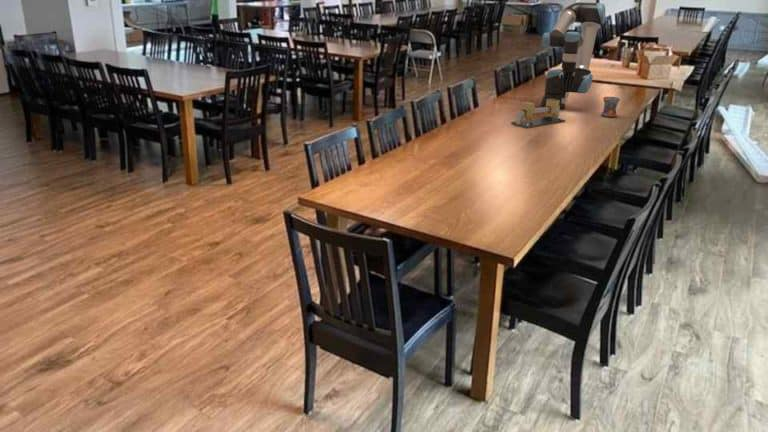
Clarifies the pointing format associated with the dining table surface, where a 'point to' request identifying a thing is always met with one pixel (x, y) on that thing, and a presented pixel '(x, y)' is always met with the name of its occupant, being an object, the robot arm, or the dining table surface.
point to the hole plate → (539, 122)
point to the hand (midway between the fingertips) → (564, 103)
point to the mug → (610, 106)
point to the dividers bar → (531, 112)
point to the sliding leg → (552, 107)
